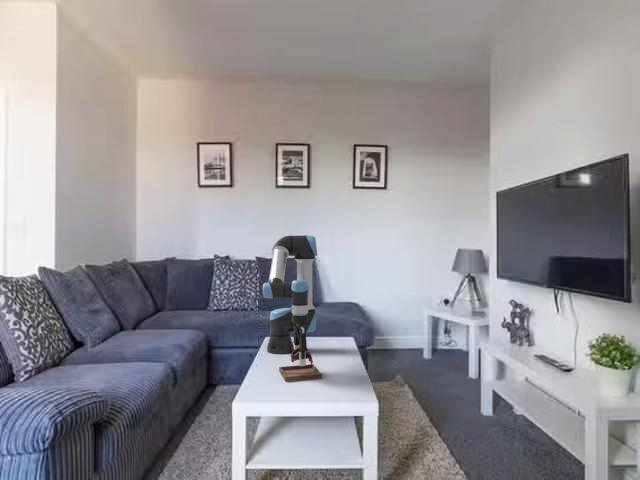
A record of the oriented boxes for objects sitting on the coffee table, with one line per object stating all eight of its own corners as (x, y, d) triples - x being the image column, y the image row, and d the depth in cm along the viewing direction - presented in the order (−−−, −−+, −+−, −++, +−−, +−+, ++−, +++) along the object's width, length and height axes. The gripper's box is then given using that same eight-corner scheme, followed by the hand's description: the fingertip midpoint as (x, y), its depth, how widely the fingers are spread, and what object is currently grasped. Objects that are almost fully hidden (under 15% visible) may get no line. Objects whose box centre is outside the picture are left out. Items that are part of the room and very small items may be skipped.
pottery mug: (312, 367, 186) (303, 352, 185) (295, 375, 189) (285, 360, 188) (317, 353, 198) (308, 339, 197) (300, 361, 200) (291, 347, 199)
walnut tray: (279, 371, 197) (279, 366, 197) (313, 368, 201) (313, 364, 201) (285, 381, 182) (285, 377, 182) (321, 378, 186) (321, 373, 186)
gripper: (287, 310, 201) (287, 356, 201) (297, 318, 180) (297, 370, 180) (302, 309, 203) (302, 355, 203) (313, 317, 182) (314, 368, 182)
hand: (299, 362), depth 191 cm, fingers closed on pottery mug, 10 cm apart
